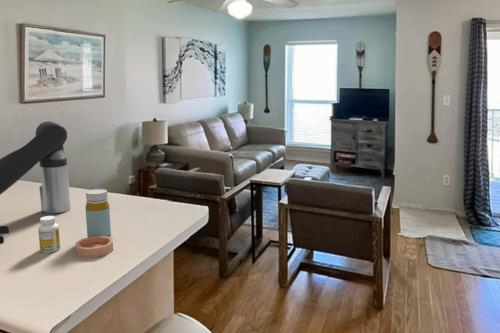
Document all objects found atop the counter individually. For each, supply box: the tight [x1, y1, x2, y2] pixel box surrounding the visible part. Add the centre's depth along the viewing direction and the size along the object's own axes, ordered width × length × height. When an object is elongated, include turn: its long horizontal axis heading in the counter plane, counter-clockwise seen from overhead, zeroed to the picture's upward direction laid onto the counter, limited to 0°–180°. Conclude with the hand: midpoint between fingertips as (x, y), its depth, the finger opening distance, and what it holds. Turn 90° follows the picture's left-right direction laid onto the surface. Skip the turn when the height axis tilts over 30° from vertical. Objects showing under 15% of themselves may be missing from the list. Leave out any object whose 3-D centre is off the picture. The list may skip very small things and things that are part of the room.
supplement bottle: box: [37, 215, 61, 254], centre depth 126 cm, size 5×5×10 cm
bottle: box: [85, 188, 112, 238], centre depth 135 cm, size 7×7×15 cm
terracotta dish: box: [75, 236, 114, 258], centre depth 127 cm, size 10×10×2 cm
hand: (6, 234), depth 122 cm, fingers open, 8 cm apart
